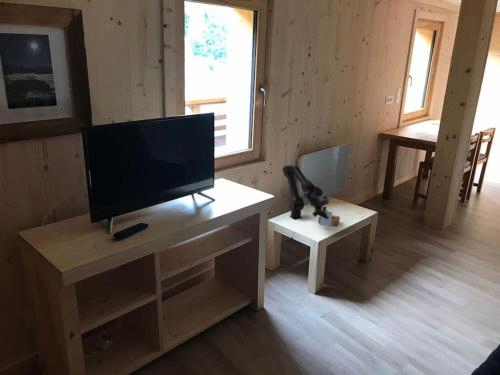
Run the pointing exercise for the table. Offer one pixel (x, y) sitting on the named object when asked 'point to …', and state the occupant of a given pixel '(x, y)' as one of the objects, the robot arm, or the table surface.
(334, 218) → the slotted case
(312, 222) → the table surface
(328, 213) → the cover plate
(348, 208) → the table surface
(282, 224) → the table surface
